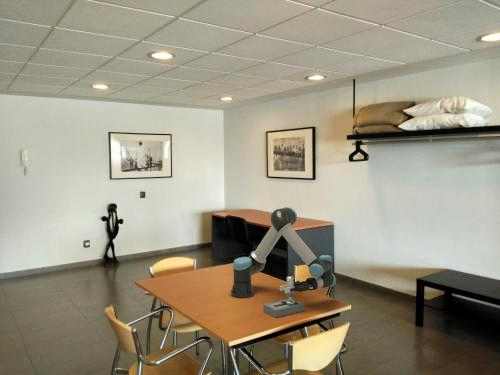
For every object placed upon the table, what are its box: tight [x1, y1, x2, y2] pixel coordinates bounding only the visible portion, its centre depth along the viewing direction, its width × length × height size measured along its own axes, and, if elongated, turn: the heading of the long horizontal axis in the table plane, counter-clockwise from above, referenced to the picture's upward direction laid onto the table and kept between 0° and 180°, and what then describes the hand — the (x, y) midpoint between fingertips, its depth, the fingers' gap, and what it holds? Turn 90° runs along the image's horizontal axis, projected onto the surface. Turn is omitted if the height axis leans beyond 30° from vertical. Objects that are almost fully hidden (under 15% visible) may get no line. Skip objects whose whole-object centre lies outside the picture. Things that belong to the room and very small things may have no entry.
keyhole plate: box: [262, 298, 305, 319], centre depth 228 cm, size 20×12×4 cm, turn 122°
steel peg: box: [285, 275, 295, 306], centre depth 230 cm, size 5×5×16 cm
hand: (282, 289), depth 227 cm, fingers closed on steel peg, 4 cm apart
